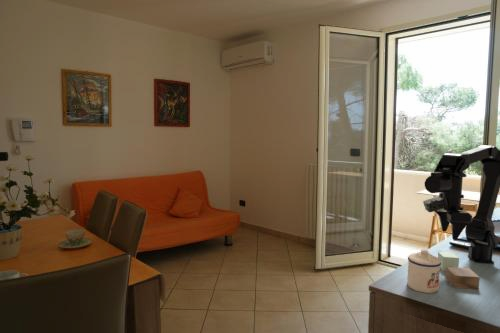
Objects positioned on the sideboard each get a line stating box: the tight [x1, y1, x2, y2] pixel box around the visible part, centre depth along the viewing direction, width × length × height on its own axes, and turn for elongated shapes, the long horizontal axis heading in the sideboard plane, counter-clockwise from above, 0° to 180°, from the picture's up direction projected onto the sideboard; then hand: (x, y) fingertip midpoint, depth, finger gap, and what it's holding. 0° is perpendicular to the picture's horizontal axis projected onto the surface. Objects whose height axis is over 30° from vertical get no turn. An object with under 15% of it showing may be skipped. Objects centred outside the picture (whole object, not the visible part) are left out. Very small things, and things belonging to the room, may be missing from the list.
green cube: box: [437, 251, 460, 272], centre depth 123 cm, size 5×5×5 cm
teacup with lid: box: [406, 249, 441, 294], centre depth 109 cm, size 12×9×12 cm
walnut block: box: [444, 267, 480, 290], centre depth 111 cm, size 7×7×4 cm
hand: (449, 235), depth 121 cm, fingers open, 9 cm apart
